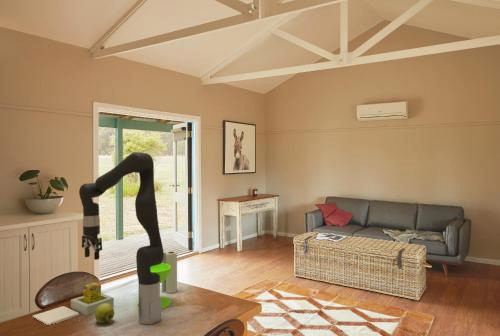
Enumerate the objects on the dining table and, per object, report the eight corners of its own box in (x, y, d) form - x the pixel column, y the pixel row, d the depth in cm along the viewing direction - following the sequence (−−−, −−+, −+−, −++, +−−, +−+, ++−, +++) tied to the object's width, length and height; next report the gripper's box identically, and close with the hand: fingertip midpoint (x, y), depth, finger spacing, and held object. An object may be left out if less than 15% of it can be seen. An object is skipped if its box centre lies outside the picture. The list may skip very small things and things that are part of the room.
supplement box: (90, 310, 178) (89, 287, 178) (83, 307, 182) (83, 285, 181) (101, 306, 183) (101, 284, 182) (94, 303, 186) (94, 281, 186)
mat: (79, 315, 173) (79, 313, 172) (47, 326, 161) (47, 323, 161) (63, 308, 181) (63, 305, 181) (32, 317, 170) (32, 315, 170)
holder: (113, 305, 184) (113, 297, 184) (86, 315, 172) (86, 306, 172) (97, 299, 192) (97, 291, 192) (70, 308, 181) (70, 299, 181)
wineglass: (175, 298, 194) (174, 263, 193) (164, 310, 178) (164, 273, 177) (144, 297, 195) (144, 262, 195) (132, 309, 179) (132, 271, 179)
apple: (107, 316, 171) (107, 299, 171) (118, 322, 166) (118, 304, 165) (90, 322, 165) (90, 304, 165) (101, 328, 160) (101, 309, 159)
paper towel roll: (179, 290, 206) (178, 251, 205) (173, 294, 200) (173, 254, 199) (167, 289, 207) (167, 250, 207) (161, 292, 202) (161, 253, 201)
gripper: (106, 225, 180) (107, 258, 180) (90, 222, 189) (91, 254, 189) (91, 227, 174) (92, 262, 174) (76, 224, 183) (76, 257, 183)
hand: (91, 258), depth 182 cm, fingers open, 8 cm apart
